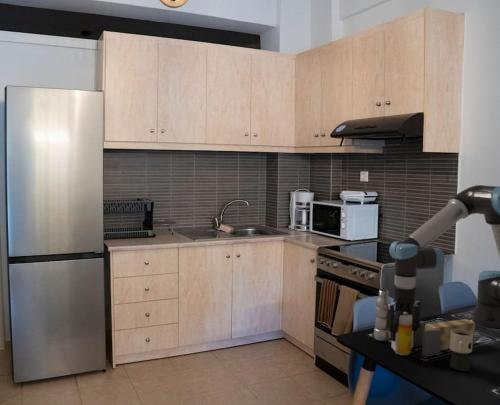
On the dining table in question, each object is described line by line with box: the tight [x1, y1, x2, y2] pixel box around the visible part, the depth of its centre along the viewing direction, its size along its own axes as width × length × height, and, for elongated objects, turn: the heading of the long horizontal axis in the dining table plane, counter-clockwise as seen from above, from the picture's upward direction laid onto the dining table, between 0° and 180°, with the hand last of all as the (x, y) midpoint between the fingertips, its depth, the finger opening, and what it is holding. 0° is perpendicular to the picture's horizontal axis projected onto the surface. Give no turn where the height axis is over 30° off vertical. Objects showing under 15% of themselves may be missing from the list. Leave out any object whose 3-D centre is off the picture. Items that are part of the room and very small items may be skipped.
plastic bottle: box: [373, 288, 392, 342], centre depth 191 cm, size 6×7×20 cm
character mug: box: [449, 329, 473, 372], centre depth 166 cm, size 11×7×13 cm, turn 156°
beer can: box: [393, 311, 412, 356], centre depth 179 cm, size 6×6×15 cm
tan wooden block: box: [424, 318, 476, 351], centre depth 187 cm, size 20×4×9 cm, turn 111°
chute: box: [413, 320, 443, 357], centre depth 182 cm, size 7×12×9 cm, turn 20°
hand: (402, 347), depth 179 cm, fingers closed on beer can, 6 cm apart
